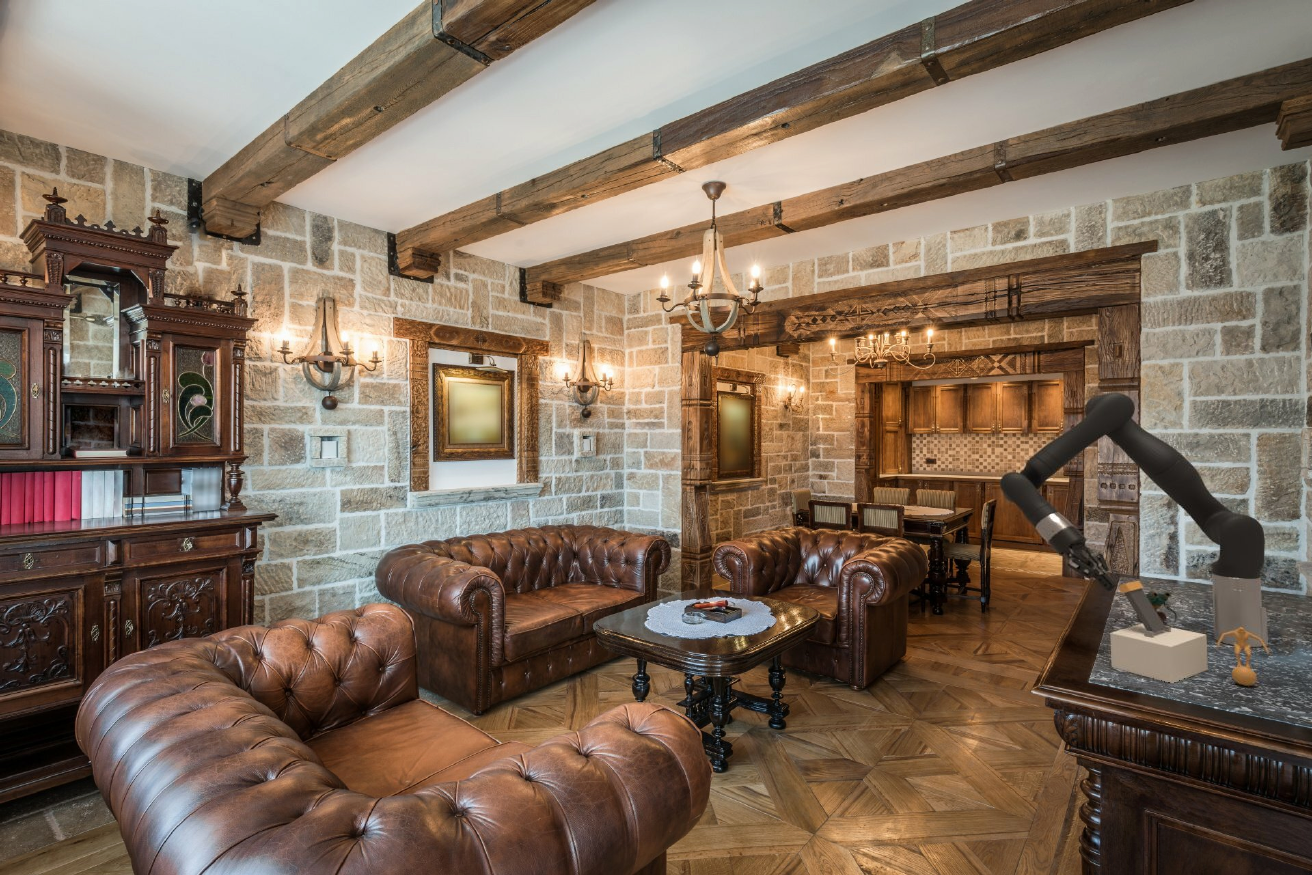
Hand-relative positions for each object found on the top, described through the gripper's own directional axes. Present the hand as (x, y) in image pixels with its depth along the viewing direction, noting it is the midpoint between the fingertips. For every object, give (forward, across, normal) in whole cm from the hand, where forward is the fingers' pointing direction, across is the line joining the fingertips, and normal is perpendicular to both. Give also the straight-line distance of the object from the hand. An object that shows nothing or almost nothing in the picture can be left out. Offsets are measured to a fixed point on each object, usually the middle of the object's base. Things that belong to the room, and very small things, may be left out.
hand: (1113, 589), depth 154 cm
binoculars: (+5, +38, +18) cm, 43 cm away
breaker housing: (+18, 0, +5) cm, 19 cm away
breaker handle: (+12, 0, -1) cm, 12 cm away
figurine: (+28, +5, -4) cm, 29 cm away
